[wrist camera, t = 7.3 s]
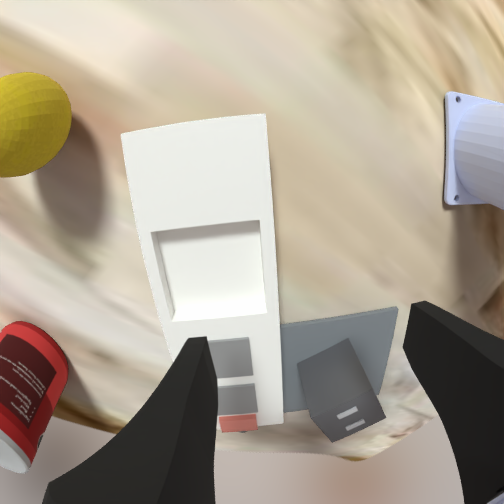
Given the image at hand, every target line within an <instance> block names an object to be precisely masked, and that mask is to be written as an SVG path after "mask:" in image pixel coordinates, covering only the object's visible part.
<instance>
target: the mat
mask: <svg viewBox="0 0 504 504" xmlns="http://www.w3.org/2000/svg"><path fill="white" fill-rule="evenodd" d="M397 314H398V308H397V307H391V308H385V309H380V310H374V311H368V312H363V313H357V314H351V315H344V316H338V317H332V318H325V319H318V320H311V321H304V322H296V323H289V324H280V341H281V364H282V390H283V413H286V412H293V411H300V410H306V409H309V408H308V405H307V401H306V397H305V393H304V389H303V385H302V381H301V377H300V373H299V369H298V366H297V363H299V362H301V361H303V360H305V359H307V358H309V357H311V356H313V355H315V354H317V353H319V352H321V351H323V350H325V349H327V348H329V347H331V346H333V345H335V344H337V343H339V342H341V341H343V340H345V339H347V338H349V340H350V342H351V344H352V346H353V348H354V350H355V352H356V354H357V356H358V359H359V361H360V363H361V365H362V367H363V369H364V371H365V373H366V375H367V377H368V379H369V382H370V384H371V386H372V388H373V390H374V392H375V394H376V395H379V391H380V388H381V384H382V381H383V377H384V373H385V369H386V365H387V361H388V357H389V352H390V348H391V343H392V339H393V334H394V329H395V324H396V319H397Z"/></svg>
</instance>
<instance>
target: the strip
mask: <svg viewBox="0 0 504 504" xmlns="http://www.w3.org/2000/svg"><path fill="white" fill-rule="evenodd" d="M121 139H122V146H123V153H124V160H125V167H126V173H127V179H128V185H129V190H130V196H131V201H132V207H133V212H134V217H135V222H136V227H137V231H138V236H139V241H140V245H141V250H142V254H143V258H144V262H145V267H146V271H147V275H148V279H149V283H150V287H151V290H152V294H153V298H154V302H155V305H156V309H157V312H158V316H159V319H160V323H161V326H162V330H163V333H164V336H165V340H166V343H167V346H168V349H169V353H170V356H171V359H172V362H174V360H175V359H176V357H177V355H178V354H179V352H180V350H181V349H182V347H183V345H184V343H185V342H186V340H187V339H188V338H192V337H203V336H207V340H208V344H209V348H210V352H211V356H212V360H213V364H214V368H215V372H216V376H217V382H218V415H217V427H216V429H221V430H222V432H241V433H243V432H247V431H250V430H258V427H257V426H264V425H273V424H281V423H284V420H283V390H282V364H281V341H280V320H279V301H278V282H277V265H276V248H275V233H274V218H273V203H272V189H271V175H270V162H269V150H268V137H267V125H266V114H252V115H240V116H230V117H221V118H212V119H204V120H197V121H190V122H183V123H176V124H170V125H164V126H158V127H153V128H147V129H142V130H137V131H132V132H127V133H123V134H121Z"/></svg>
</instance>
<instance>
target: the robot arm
mask: <svg viewBox="0 0 504 504" xmlns="http://www.w3.org/2000/svg"><path fill="white" fill-rule="evenodd" d="M456 97H457V99H458V102H456ZM445 108H446V173H445V190H444V201H445V203H446V204H448V205H466V204H489V203H490V204H492V205H494V206H496V207H498V208H500V209H502V210H504V104H503V103H499V102H496V101H492V100H488V99H484V98H480V97H476V96H471V95H467V94H462V93H457V92H447V93H446V95H445ZM455 196H456V199H455V200H454V197H455ZM403 349H404V351H405V354H406V356H407V359H408V361H409V363H410V366H411V368H412V370H413V372H414V373H415V375H416V377H417V378H418V380H419V382H420V383H421V385H422V387H423V388H424V390H425V392H426V393H427V395H428V397H429V399H430V400H431V402H432V404H433V405H434V407H435V409H436V411H437V412H438V414H439V416H440V418H441V420H442V423H443V425H444V428H445V430H446V433H447V435H448V438H449V440H450V443H451V446H452V449H453V452H454V455H455V459H456V462H457V467H458V470H459V475H460V479H461V484H462V490H463V496H464V503H465V504H504V340H503V339H500V338H498V337H496V336H494V335H492V334H489V333H487V332H485V331H483V330H481V329H479V328H477V327H475V326H473V325H471V324H470V323H468V322H466V321H464V320H462V319H460V318H458V317H456V316H455V315H453V314H451V313H449V312H447V311H445V310H443V309H442V308H440V307H438V306H436V305H434V304H431V303H429V302H427V301H422V302H417V303H413V304H411V309H410V314H409V320H408V325H407V330H406V335H405V339H404V344H403ZM217 415H218V382H217V376H216V372H215V368H214V364H213V360H212V356H211V352H210V348H209V344H208V340H207V336H203V337H192V338H188V339H187V340H186V342H185V343H184V345H183V347H182V349H181V350H180V352H179V354H178V355H177V357H176V359H175V360H174V362H173V364H172V365H171V367H170V369H169V370H168V372H167V373H166V375H165V376H164V378H163V379H162V381H161V382H160V384H159V385H158V387H157V388H156V389H155V391H154V392H153V393H152V395H151V396H150V397H149V399H148V400H147V401H146V403H145V404H144V405H143V406H142V408H141V409H140V410H139V411H138V413H137V414H136V415H135V416H134V417H133V418H132V419H131V420H130V421H129V423H128V424H127V425H126V426H125V427H124V428H123V429H122V430H121V431H120V432H119V433H118V434H117V435H116V436H115V437H113V438H112V439H111V440H110V441H109V442H108V443H107V444H106V445H105V446H103V447H102V448H101V449H100V450H98V451H97V452H96V453H95V454H93V455H92V456H91V457H89V458H88V459H87V460H85V461H84V462H82V463H81V464H80V465H78V466H77V467H75V468H74V469H72V470H70V471H68V472H67V473H65V474H63V475H62V476H60V477H58V478H57V479H55V480H53V481H51V482H49V484H48V486H47V489H46V492H45V495H44V499H43V502H42V504H215V491H214V490H215V489H214V452H215V439H216V427H217Z"/></svg>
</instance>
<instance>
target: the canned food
mask: <svg viewBox="0 0 504 504" xmlns="http://www.w3.org/2000/svg"><path fill="white" fill-rule="evenodd" d="M67 379H68V363H67V361H66V358H65V356H64V354H63V352H62V350H61V349H60V347H59V346H58V345H57V343H56V342H55V341H54V340H53V339H52V338H51V337H50V336H49V335H48V334H47V333H46V332H44V331H43V330H41V329H40V328H38V327H37V326H35V325H33V324H30V323H27V322H23V321H16V322H13V323H11V324H9V325H7V326H5V327H4V328H3V329H2V331H1V332H0V465H1V466H2V467H4V468H6V469H9V470H11V471H14V472H18V473H27V472H28V470H29V468H30V467H31V464H32V462H33V459H34V457H35V455H36V452H37V450H38V447H39V445H40V442H41V440H42V437H43V435H44V432H45V430H46V427H47V425H48V423H49V420H50V418H51V416H52V414H53V411H54V409H55V407H56V405H57V402H58V400H59V398H60V396H61V394H62V392H63V389H64V387H65V385H66V383H67Z"/></svg>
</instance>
